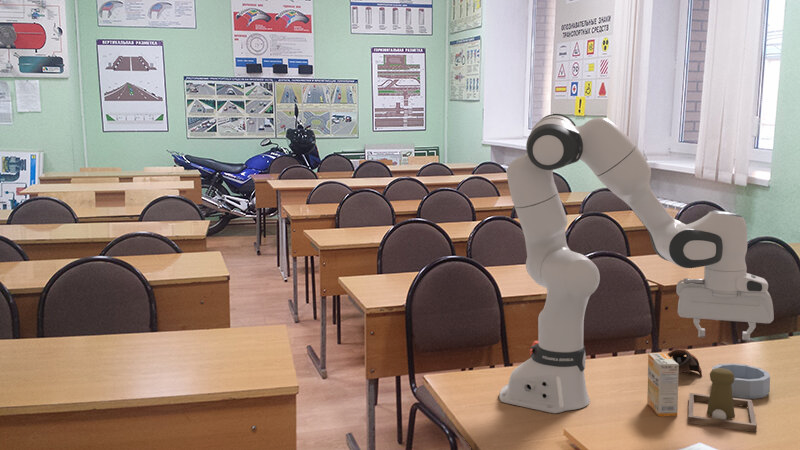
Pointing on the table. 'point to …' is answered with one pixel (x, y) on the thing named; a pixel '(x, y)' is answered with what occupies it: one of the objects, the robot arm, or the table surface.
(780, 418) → the table surface
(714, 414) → the pebble
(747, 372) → the bowl
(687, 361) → the pottery mug
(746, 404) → the tray
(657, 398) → the supplement box
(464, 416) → the table surface
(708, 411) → the cork
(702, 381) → the table surface
